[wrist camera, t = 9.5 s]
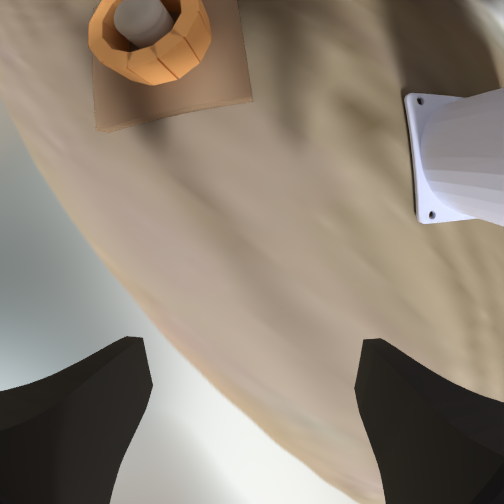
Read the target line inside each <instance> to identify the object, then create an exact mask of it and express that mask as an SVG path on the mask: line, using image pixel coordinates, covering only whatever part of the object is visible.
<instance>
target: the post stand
mask: <svg viewBox="0 0 504 504" xmlns="http://www.w3.org/2000/svg"><path fill="white" fill-rule="evenodd" d="M202 3H203V5H204V8H205V10H206V13H207V15H208V17H209V21H210V29H211V36H212V39H211V43H210V45H209V47H208V49H207V51H206V53H205V55H204V57H203V59H202V61H199V62H200V63H199V64H198V65H197V66H195V67H194V68H193V69H191V70H190V71H189V72H187V73H186V74H185V75H184V76H182V77H181V78H180V79H179V78H178V80H174V81H170V82H166V83H162V84H158V85H154V86H153V85H152V86H151V85H147V84H143V83H139V82H135V81H131V80H129V79H128V78H126V77H124V76H123V75H121V74H119V73H118V72H116V71H114V70H113V69H111V68H109V67H107V66H106V65H104V64H102V63H101V62H100V61H99V60H98V58H97V57H96V56H95V55H94V53H93V52H92V64H93V94H94V110H95V123H96V131H101V132H106V133H109V132H112V131H116V130H119V129H123V128H126V127H130V126H134V125H137V124H141V123H145V122H149V121H153V120H157V119H161V118H165V117H170V116H174V115H179V114H183V113H188V112H193V111H198V110H204V109H209V108H215V107H220V106H227V105H233V104H239V103H246V102H253V98H252V91H251V85H250V78H249V72H248V65H247V59H246V52H245V46H244V40H243V33H242V27H241V21H240V15H239V9H238V3H237V0H202ZM97 8H98V7H95V8H94V11H93V15H94V13H95V12H96V10H97ZM179 16H180V13H174V12H168V11H167V10H166V8H165V7H164V5H163V4H162V2H161V1H160V0H123V1H122V2H121V3H120V4H119V5H118V7H117V8H116V11H115V13H114V24H115V27H116V29H117V30H118V31H119V32H120V33H121V34H122V35H123V36H125V37H126V38H127V39H128V40H129V41H130V42H129V51H130V52H133V51H136V50H139V49H143V48H146V47H149V46H152V45H154V44H155V43H156V42H157V41H159V40H160V39H161V38H163V37H164V36H165V35H166V34H168V33H169V32H170V31H171V30H172V29H173V27H174V25H175V23H176V21H177V19H178V18H179Z"/></svg>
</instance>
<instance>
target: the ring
mask: <svg viewBox="0 0 504 504" xmlns="http://www.w3.org/2000/svg"><path fill="white" fill-rule="evenodd" d="M122 1H123V0H105V1H103V0H102V1H101V3H100V5H99V6H98V8H97V10H96V12H95V13H94V15H93V17H92V19H91V20H90V22H89V23H90V24H89V34H88V46H89V48H90V49H91V51H92V52H93V53H94V55H95V56H96V57H97V58H98V60H99V61H100V62H101V63H102V64H104V65H106V66H107V67H109V68H111V69H113V70H114V71H116V72H118V73H119V74H121V75H123V76H124V77H126V78H128V79H129V80H131V81H135V82H139V83H143V84H147V85H151V86H152V85H153V86H154V85H158V84H162V83H166V82H170V81H174V80H178V78H179V79H180V78H181V77H182V76H184V75H185V74H186V73H187V72H189V71H190V70H191V69H193V68H194V67H195V66H197V65H198V64H199V63H200V62H199V61H202V59H203V57H204V55H205V53H206V51H207V49H208V47H209V45H210V43H211V39H212V36H211V29H210V21H209V17H208V15H207V13H206V10H205V8H204V5H203V3H202V0H160V1H161V2H162V4H163V5H164V7H165V8H166V10H167V11H168V12H174V13H180V16H179V18H178V19H177V21H176V23H175V25H174V27H173V29H172V30H171V31H170V32H169V33H168V34H166V35H165V36H164V37H163V38H161V39H160V40H159V41H157V42H156V43H155V44H154V45H152V46H149V47H146V48H143V49H139V50H136V51H133V52H130V51H129V42H130V41H129V40H128V39H127V38H126V37H125V36H123V35H122V34H121V33H120V32H119V31H118V30H117V29H116V27H115V24H114V13H115V11H116V8H117V7H118V5H119V4H120V3H121V2H122Z"/></svg>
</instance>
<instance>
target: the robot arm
mask: <svg viewBox="0 0 504 504" xmlns="http://www.w3.org/2000/svg"><path fill="white" fill-rule="evenodd" d="M417 98H419V99H420V100H421V105H419V104H418V102H417ZM404 102H405V108H406V114H407V120H408V127H409V134H410V142H411V150H412V159H413V169H414V181H415V196H416V216H417V220H418V221H419V222H420V223H423V224H429V223H439V222H448V221H457V220H466V219H476V218H479V219H482V220H485V221H488V222H491V223H495V224H498V225H501V226H504V88H501V89H497V90H493V91H489V92H485V93H482V94H478V95H475V96H471V97H468V98H463V97H454V96H445V95H434V94H420V93H409V94H407V95H406V96H405V98H404ZM431 211H432V213H433V216H432V217H431V218H429V213H430V212H431ZM152 387H153V383H152V379H151V375H150V370H149V366H148V361H147V356H146V351H145V346H144V342H143V338H140V337H128V336H126V337H124V338H122V339H120V340H118V341H116V342H114V343H112V344H110V345H108V346H106V347H105V348H103V349H101V350H99V351H98V352H96V353H94V354H92V355H90V356H89V357H87V358H85V359H83V360H81V361H79V362H77V363H75V364H73V365H71V366H70V367H67V368H66V369H63V370H61V371H60V372H58V373H55V374H53V375H51V376H48V377H46V378H44V379H41V380H38V381H35V382H33V383H30V384H27V385H23V386H19V387H16V388H12V389H8V390H4V391H0V504H109V503H110V499H111V495H112V491H113V487H114V484H115V481H116V477H117V473H118V471H119V467H120V464H121V462H122V460H123V457H124V455H125V453H126V451H127V448H128V446H129V444H130V442H131V440H132V438H133V436H134V433H135V432H136V429H137V427H138V425H139V423H140V421H141V419H142V416H143V414H144V412H145V410H146V407H147V404H148V401H149V398H150V394H151V391H152ZM354 389H355V394H356V399H357V404H358V408H359V413H360V416H361V418H362V421H363V424H364V427H365V430H366V432H367V435H368V438H369V441H370V443H371V446H372V449H373V452H374V455H375V457H376V460H377V463H378V467H379V470H380V474H381V479H382V484H383V489H384V495H385V501H386V504H504V402H500V401H497V400H494V399H491V398H488V397H485V396H482V395H479V394H477V393H474V392H472V391H470V390H467V389H465V388H463V387H461V386H458V385H456V384H454V383H452V382H450V381H449V380H447V379H445V378H443V377H441V376H440V375H438V374H436V373H434V372H433V371H431V370H429V369H428V368H426V367H425V366H423V365H421V364H420V363H418V362H417V361H415V360H414V359H412V358H411V357H409V356H408V355H406V354H405V353H403V352H402V351H400V350H399V349H397V348H396V347H394V346H393V345H391V344H390V343H388V342H386V341H385V340H383V339H381V338H378V339H364V340H363V345H362V351H361V357H360V362H359V368H358V373H357V378H356V383H355V387H354Z"/></svg>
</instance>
